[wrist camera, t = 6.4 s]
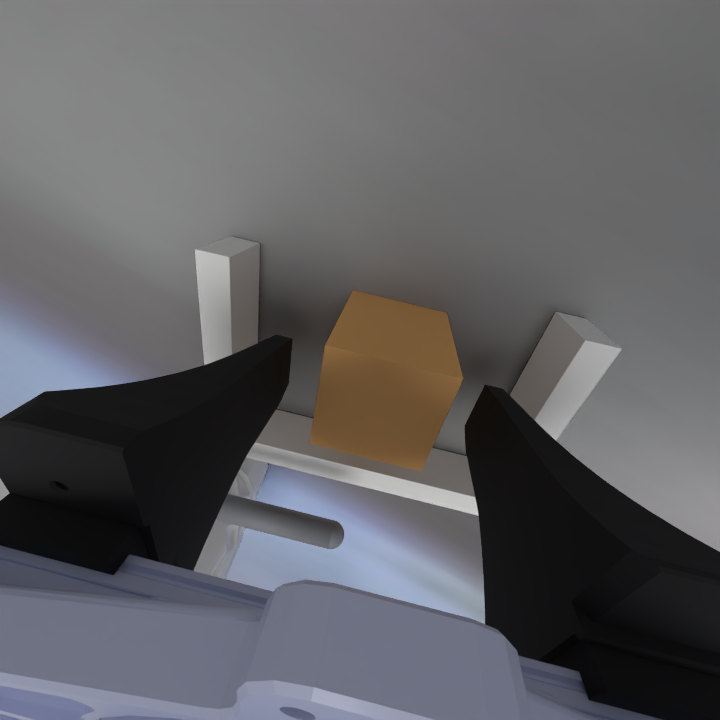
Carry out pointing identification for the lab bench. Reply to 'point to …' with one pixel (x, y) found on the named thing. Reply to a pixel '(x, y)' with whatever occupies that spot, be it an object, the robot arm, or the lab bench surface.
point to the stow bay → (292, 450)
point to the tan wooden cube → (386, 381)
